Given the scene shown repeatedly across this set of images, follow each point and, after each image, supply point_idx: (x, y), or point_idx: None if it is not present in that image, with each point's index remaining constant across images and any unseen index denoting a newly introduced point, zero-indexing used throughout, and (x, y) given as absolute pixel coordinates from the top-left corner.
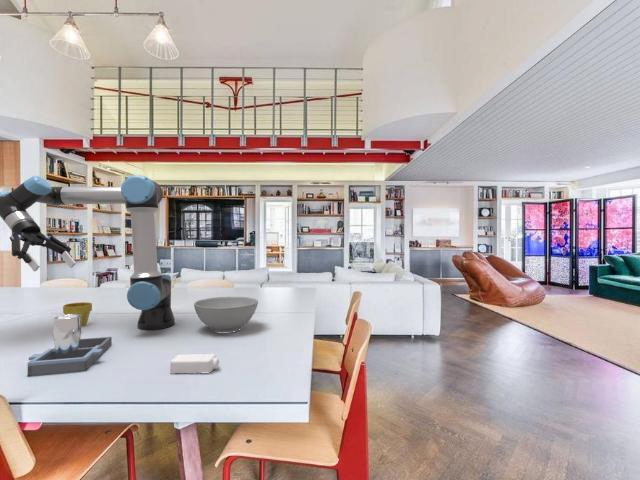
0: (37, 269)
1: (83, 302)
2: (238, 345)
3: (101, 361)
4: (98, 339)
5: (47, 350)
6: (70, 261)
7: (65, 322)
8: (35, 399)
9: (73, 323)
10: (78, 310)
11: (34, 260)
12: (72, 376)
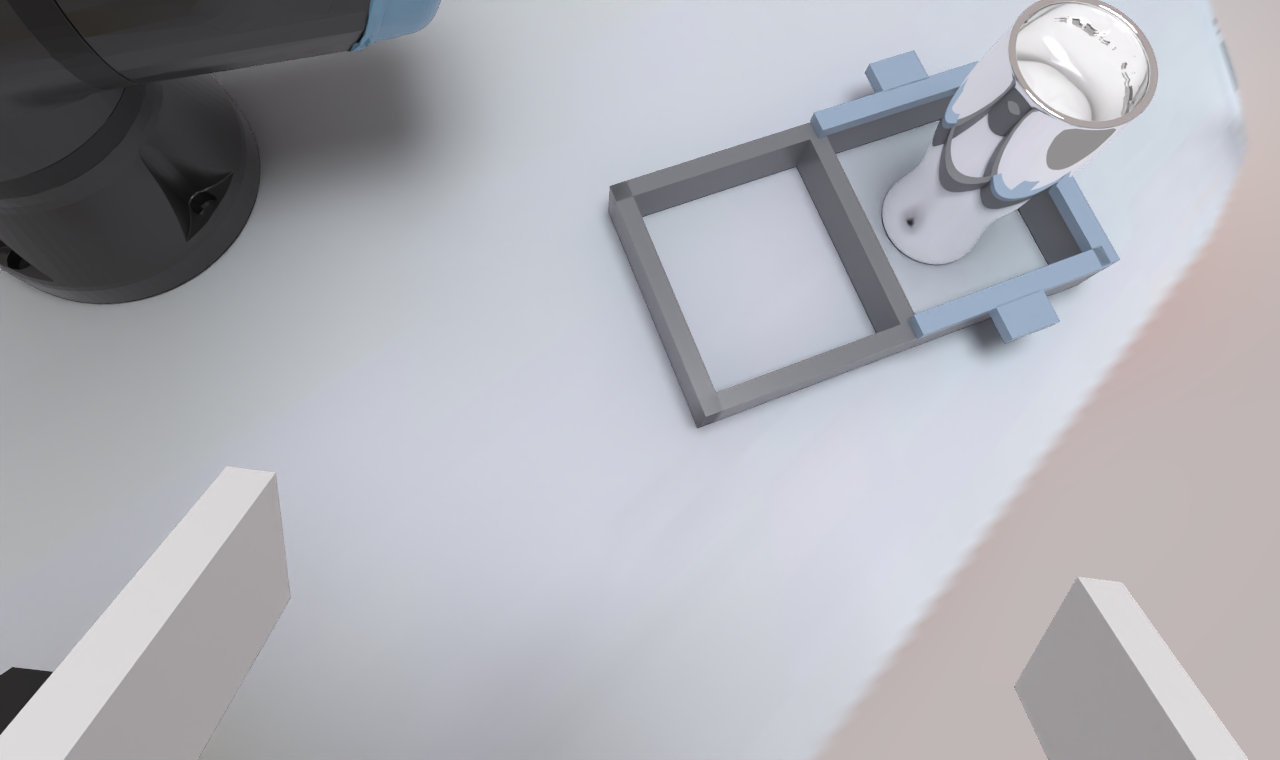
0: (1033, 655)
1: None
2: None
3: None
4: (651, 243)
5: (949, 318)
6: (228, 594)
7: (1122, 42)
8: (1219, 88)
9: (1077, 27)
10: None
11: (1215, 727)
12: None
